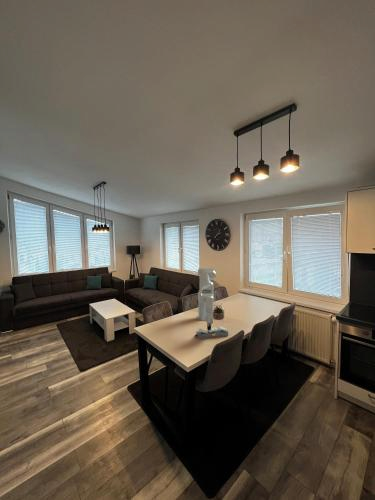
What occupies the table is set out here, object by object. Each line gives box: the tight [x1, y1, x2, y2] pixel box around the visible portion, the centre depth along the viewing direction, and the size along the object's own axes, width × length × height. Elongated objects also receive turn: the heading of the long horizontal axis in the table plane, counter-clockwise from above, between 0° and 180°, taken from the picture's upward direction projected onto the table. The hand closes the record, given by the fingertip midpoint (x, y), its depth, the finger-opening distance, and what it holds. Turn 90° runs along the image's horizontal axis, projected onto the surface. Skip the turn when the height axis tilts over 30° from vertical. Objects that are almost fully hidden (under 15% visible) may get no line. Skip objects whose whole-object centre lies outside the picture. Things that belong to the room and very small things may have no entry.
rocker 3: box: [216, 326, 228, 331], centre depth 192 cm, size 4×8×2 cm, turn 104°
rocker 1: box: [198, 327, 208, 333], centre depth 188 cm, size 4×8×2 cm, turn 105°
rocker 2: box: [208, 326, 218, 332], centre depth 190 cm, size 4×8×2 cm, turn 105°
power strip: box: [194, 328, 229, 340], centre depth 191 cm, size 7×31×5 cm, turn 104°
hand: (209, 329), depth 189 cm, fingers closed
